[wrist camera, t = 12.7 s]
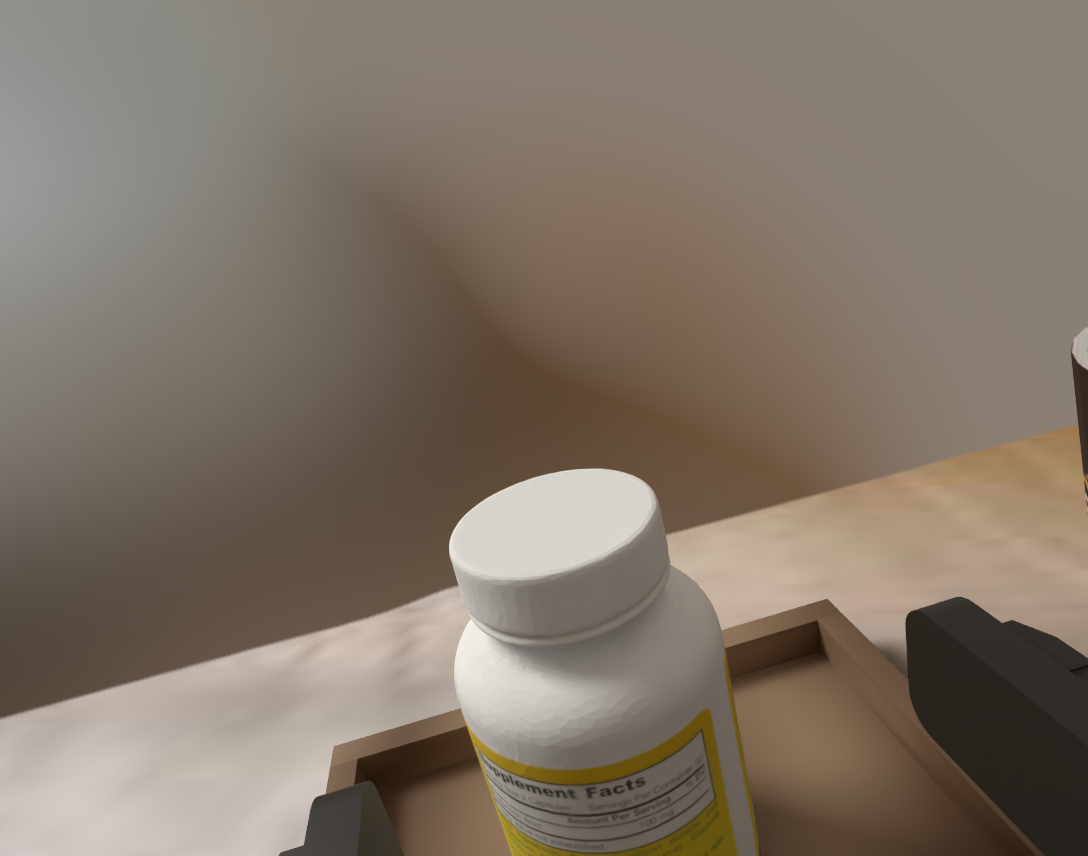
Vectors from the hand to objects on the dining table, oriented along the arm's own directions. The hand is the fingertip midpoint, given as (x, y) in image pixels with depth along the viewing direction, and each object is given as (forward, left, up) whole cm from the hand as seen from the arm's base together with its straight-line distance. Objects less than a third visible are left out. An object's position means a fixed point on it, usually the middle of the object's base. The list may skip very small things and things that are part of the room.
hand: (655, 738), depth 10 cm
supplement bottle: (0, +4, -8) cm, 9 cm away
